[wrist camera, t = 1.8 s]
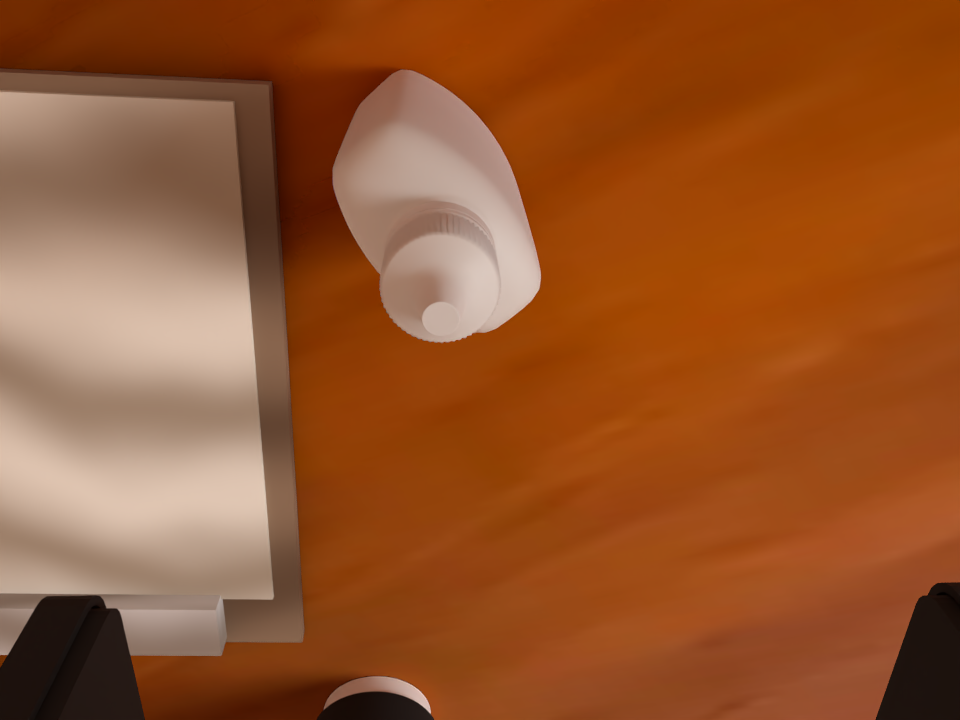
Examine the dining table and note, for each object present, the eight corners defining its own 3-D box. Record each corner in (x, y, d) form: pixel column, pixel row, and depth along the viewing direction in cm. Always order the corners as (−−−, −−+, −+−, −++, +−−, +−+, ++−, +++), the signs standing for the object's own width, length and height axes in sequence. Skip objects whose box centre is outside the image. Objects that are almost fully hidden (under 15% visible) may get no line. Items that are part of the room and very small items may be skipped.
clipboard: (-302, 54, 24) (-350, 62, 22) (271, 81, 25) (262, 90, 23) (-97, 629, 34) (-121, 659, 32) (304, 631, 35) (298, 661, 33)
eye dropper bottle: (393, 254, 27) (365, 465, 17) (346, 78, 25) (277, 197, 14) (525, 226, 27) (580, 423, 17) (491, 46, 25) (531, 143, 14)
